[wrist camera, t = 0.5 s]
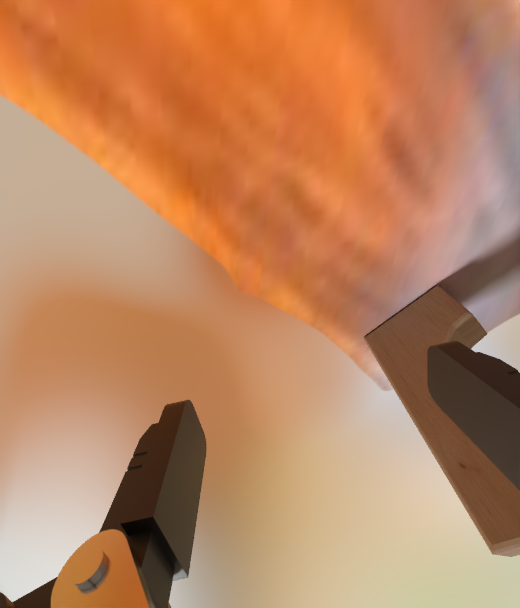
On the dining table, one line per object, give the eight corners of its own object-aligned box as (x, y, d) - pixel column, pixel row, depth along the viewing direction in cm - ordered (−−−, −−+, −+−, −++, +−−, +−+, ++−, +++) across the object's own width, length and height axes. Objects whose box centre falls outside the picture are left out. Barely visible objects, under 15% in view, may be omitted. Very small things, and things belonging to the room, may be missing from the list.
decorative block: (383, 353, 54) (512, 556, 30) (362, 337, 50) (490, 553, 26) (455, 305, 48) (686, 510, 24) (437, 283, 44) (688, 498, 21)
